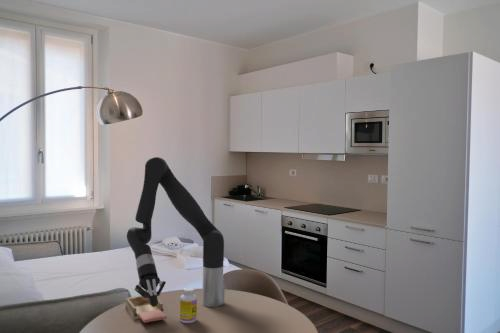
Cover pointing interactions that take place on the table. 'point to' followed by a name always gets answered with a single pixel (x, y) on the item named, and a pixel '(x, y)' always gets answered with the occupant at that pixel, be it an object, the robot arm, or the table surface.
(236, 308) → the table surface
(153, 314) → the panel
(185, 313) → the supplement bottle
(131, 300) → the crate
